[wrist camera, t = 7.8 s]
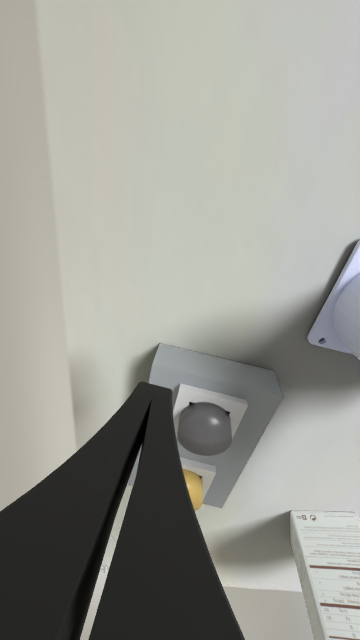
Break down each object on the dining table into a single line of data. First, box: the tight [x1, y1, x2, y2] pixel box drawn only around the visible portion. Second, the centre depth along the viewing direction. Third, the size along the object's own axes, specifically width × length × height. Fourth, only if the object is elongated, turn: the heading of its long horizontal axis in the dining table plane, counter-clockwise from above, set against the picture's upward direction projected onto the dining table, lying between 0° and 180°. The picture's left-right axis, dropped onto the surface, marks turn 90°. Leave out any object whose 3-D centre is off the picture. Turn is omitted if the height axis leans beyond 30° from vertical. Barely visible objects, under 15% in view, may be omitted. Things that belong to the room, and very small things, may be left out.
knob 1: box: [183, 469, 203, 511], centre depth 23 cm, size 4×4×5 cm
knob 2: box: [177, 402, 232, 456], centre depth 20 cm, size 4×4×5 cm
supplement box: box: [290, 511, 360, 640], centre depth 24 cm, size 7×7×13 cm
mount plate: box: [128, 343, 284, 508], centre depth 22 cm, size 10×16×4 cm, turn 168°
